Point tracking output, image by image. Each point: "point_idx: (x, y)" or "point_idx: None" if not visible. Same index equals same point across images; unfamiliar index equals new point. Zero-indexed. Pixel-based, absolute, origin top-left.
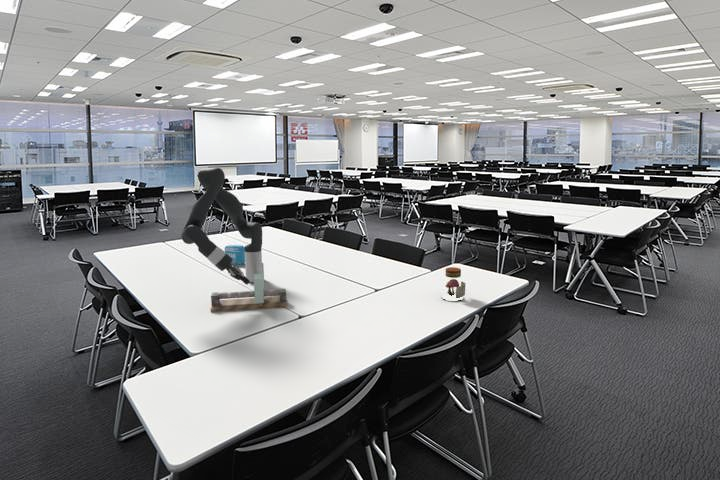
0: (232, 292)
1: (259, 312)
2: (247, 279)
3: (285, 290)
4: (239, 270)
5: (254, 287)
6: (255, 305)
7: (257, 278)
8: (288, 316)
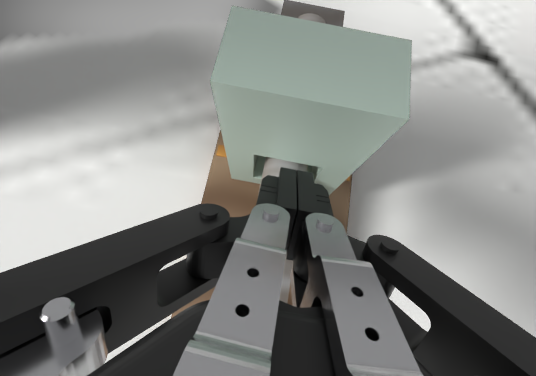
0: None
1: (395, 193)
2: (313, 185)
3: (322, 8)
4: (281, 269)
5: (365, 158)
6: (340, 198)
7: (406, 83)
8: (470, 92)
